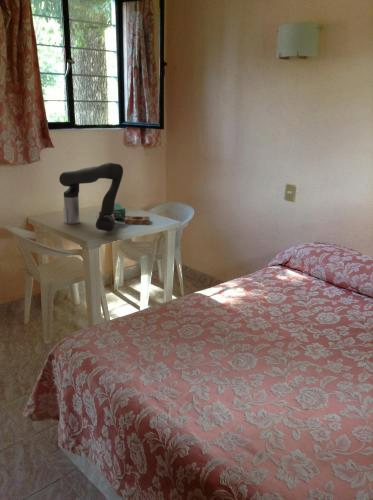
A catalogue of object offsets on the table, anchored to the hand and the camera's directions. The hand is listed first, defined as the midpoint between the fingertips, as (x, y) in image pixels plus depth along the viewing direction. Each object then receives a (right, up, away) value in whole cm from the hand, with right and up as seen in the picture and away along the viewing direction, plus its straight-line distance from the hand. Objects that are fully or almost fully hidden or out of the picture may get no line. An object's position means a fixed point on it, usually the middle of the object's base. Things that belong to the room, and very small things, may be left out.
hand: (111, 211), depth 285 cm
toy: (-1, -1, +19) cm, 19 cm away
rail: (+17, -7, +4) cm, 18 cm away
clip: (0, -7, +1) cm, 7 cm away
